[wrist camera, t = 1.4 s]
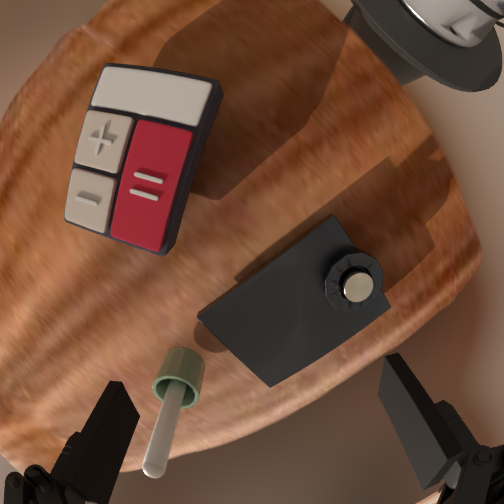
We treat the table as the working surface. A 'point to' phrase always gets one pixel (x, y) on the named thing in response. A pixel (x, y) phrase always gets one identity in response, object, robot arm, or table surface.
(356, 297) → the button
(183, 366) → the pen cup
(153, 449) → the stylus
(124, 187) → the calculator
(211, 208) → the table surface
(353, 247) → the tablet
